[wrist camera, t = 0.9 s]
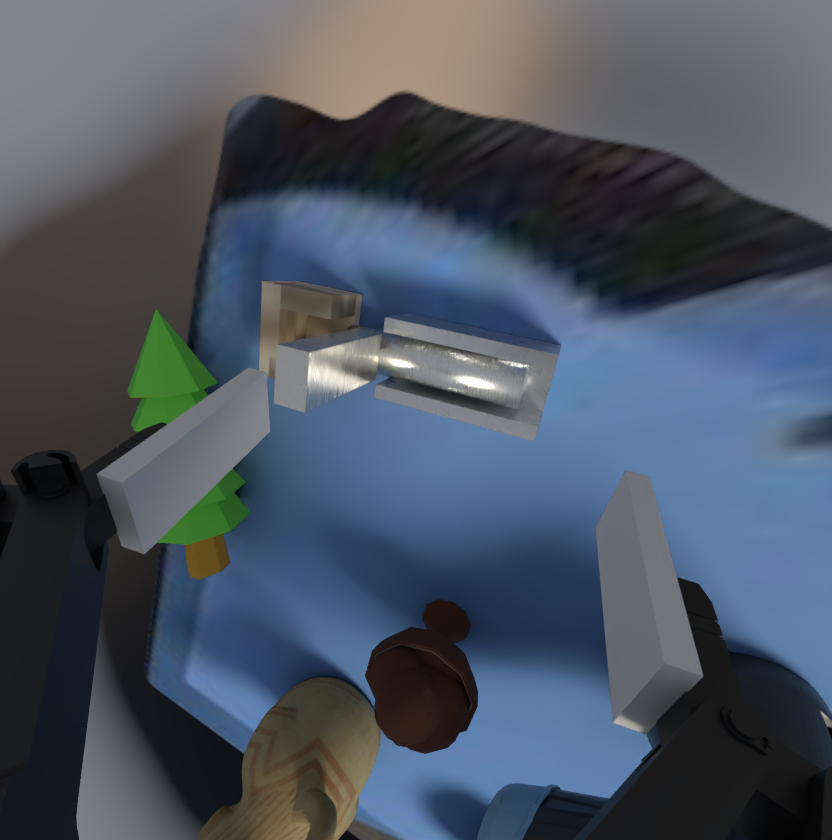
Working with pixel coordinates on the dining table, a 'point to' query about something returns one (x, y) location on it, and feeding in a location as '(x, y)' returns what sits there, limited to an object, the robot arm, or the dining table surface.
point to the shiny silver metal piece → (388, 368)
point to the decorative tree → (163, 402)
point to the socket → (301, 315)
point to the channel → (482, 342)
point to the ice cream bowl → (424, 681)
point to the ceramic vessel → (303, 767)
